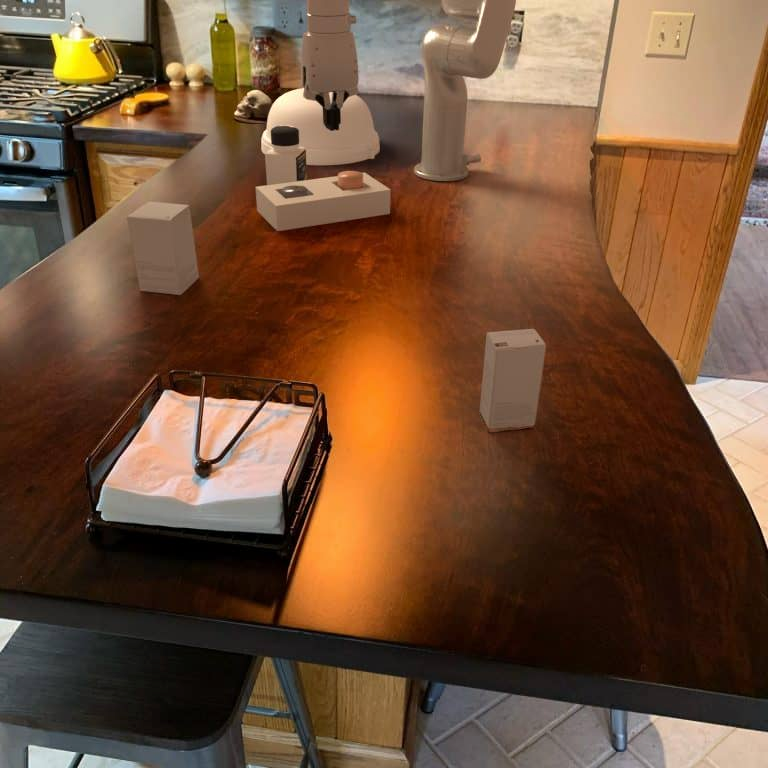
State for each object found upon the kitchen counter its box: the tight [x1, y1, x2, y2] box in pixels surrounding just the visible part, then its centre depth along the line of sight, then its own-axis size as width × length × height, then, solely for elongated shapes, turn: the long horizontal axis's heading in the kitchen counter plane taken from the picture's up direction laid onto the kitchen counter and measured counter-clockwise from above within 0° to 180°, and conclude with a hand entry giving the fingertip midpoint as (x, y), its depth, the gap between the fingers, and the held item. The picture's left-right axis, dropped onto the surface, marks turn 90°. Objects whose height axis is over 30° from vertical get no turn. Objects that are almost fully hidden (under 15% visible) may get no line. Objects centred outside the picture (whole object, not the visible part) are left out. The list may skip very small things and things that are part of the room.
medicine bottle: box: [264, 125, 308, 185], centre depth 168 cm, size 7×7×12 cm
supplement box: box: [126, 201, 200, 296], centre depth 122 cm, size 7×7×13 cm
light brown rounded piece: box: [337, 170, 363, 191], centre depth 155 cm, size 5×5×4 cm
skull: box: [232, 89, 273, 124], centre depth 218 cm, size 12×10×10 cm
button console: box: [255, 172, 391, 232], centre depth 154 cm, size 24×12×5 cm, turn 117°
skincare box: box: [479, 328, 547, 429], centre depth 91 cm, size 6×4×12 cm
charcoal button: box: [282, 185, 308, 199], centre depth 151 cm, size 5×5×4 cm
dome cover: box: [261, 87, 381, 166], centre depth 191 cm, size 32×30×14 cm
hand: (332, 128), depth 147 cm, fingers closed
